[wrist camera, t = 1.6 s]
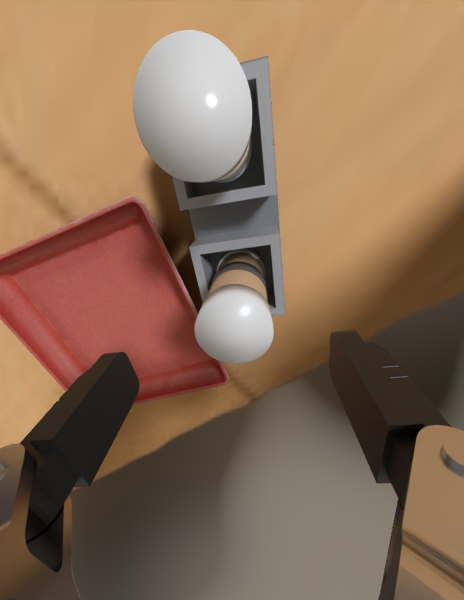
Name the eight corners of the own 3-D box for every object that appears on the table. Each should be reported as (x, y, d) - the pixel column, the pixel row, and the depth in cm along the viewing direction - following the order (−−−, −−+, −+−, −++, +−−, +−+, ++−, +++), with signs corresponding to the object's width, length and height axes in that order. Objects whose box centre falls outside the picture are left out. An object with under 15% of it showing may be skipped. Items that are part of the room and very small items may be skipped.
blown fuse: (261, 242, 17) (270, 293, 9) (266, 285, 19) (276, 360, 11) (215, 249, 18) (185, 302, 10) (223, 290, 19) (203, 366, 11)
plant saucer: (-6, 262, 22) (-46, 274, 19) (155, 189, 18) (136, 191, 15) (102, 391, 29) (85, 414, 26) (234, 360, 25) (232, 383, 22)
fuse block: (266, 65, 14) (272, 18, 10) (282, 300, 21) (290, 327, 17) (167, 90, 15) (136, 56, 11) (214, 307, 22) (206, 335, 18)
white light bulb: (248, 111, 14) (242, 12, 6) (254, 177, 15) (258, 171, 7) (190, 123, 14) (114, 49, 6) (203, 186, 16) (154, 190, 8)
